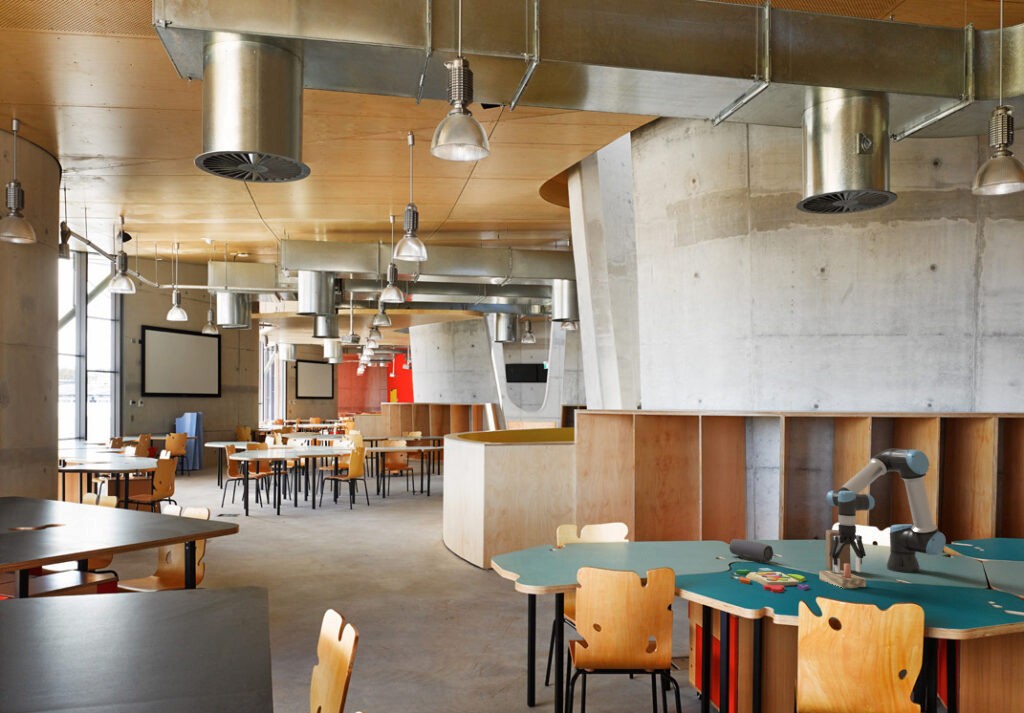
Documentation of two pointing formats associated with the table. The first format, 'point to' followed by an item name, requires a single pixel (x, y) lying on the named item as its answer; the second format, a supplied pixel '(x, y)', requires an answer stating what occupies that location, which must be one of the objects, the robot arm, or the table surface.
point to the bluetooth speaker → (751, 550)
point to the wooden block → (843, 555)
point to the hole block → (842, 579)
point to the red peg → (847, 570)
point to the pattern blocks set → (772, 579)
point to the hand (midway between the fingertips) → (847, 571)
